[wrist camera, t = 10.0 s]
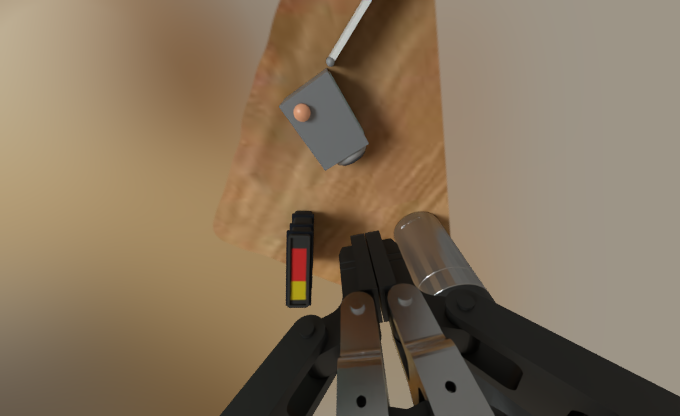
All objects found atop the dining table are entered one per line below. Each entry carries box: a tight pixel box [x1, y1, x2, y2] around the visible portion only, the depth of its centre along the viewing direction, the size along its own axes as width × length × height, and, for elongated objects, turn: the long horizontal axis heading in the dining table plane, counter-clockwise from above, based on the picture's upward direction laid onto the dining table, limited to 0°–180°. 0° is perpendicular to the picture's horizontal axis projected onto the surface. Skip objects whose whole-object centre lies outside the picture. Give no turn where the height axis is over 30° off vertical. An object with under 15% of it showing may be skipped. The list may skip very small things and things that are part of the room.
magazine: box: [286, 211, 314, 308], centre depth 43 cm, size 4×13×15 cm, turn 176°
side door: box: [326, 0, 372, 67], centre depth 28 cm, size 12×1×5 cm, turn 144°
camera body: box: [279, 68, 369, 171], centre depth 34 cm, size 12×7×7 cm, turn 32°
